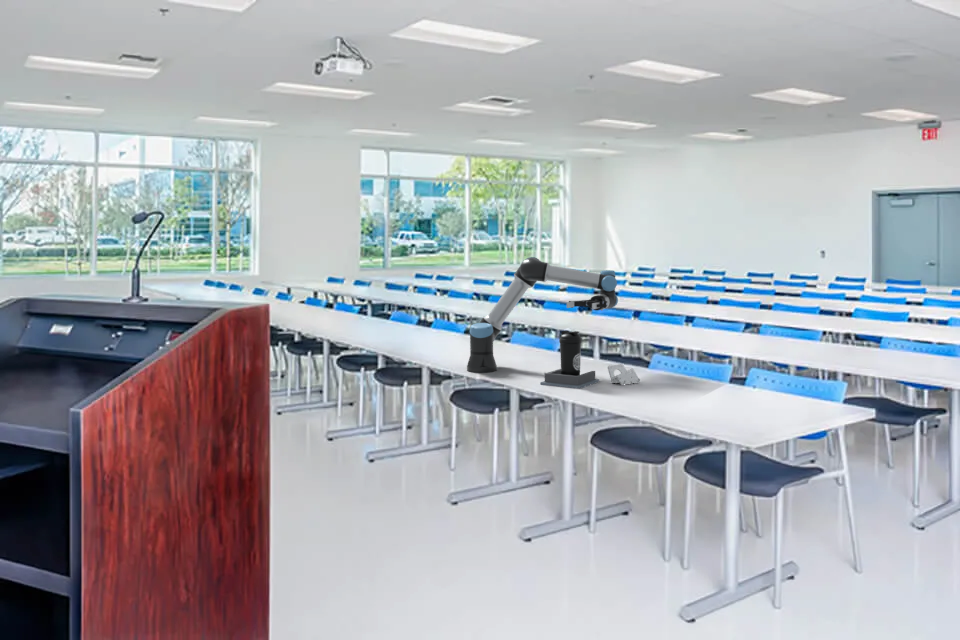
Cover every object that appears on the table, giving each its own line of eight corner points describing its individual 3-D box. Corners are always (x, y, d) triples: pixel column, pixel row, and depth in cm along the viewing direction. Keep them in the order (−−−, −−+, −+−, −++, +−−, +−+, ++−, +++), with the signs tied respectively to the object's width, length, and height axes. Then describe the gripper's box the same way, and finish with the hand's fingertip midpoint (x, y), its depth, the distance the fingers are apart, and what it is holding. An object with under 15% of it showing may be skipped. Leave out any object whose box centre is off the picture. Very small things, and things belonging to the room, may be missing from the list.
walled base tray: (540, 384, 366) (540, 373, 366) (561, 377, 383) (561, 367, 382) (579, 388, 355) (579, 377, 355) (599, 381, 372) (599, 371, 371)
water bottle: (574, 383, 362) (574, 333, 360) (555, 381, 368) (555, 331, 366) (585, 380, 370) (585, 330, 368) (566, 377, 376) (566, 329, 374)
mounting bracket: (633, 386, 371) (627, 363, 373) (641, 382, 365) (635, 359, 368) (613, 388, 365) (607, 366, 368) (621, 385, 360) (615, 362, 362)
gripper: (622, 311, 395) (603, 314, 378) (577, 308, 409) (557, 312, 392) (622, 295, 395) (603, 298, 377) (577, 294, 408) (557, 297, 391)
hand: (579, 305), depth 384 cm, fingers open, 13 cm apart
